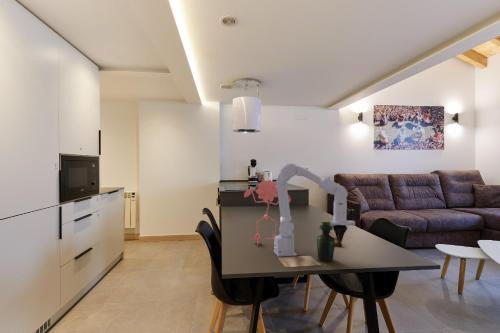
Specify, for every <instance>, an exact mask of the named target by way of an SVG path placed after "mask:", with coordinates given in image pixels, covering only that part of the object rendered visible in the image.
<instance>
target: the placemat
mask: <svg viewBox="0 0 500 333" xmlns="http://www.w3.org/2000/svg"><path fill="white" fill-rule="evenodd" d="M277 259H278V260H279V261H280V263H281V264H282V265H283V266H284V268H285V269H287V268H299V267H314V266H317V267H319V266H321V265H322V263H319V262H318V261H317V260H316V259H315V258H314V257H313V256H311V255H301V256H300V255H296V256H280V257H277Z"/></svg>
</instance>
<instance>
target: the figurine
mask: <svg viewBox="0 0 500 333" xmlns="http://www.w3.org/2000/svg"><path fill="white" fill-rule="evenodd" d="M257 188H258V189H256V190H255V193H256V194H257V195H258V196H257V197H258V199H260V200H261V201H256V198H255V194H254V191H253V188H252V187H251V188H249V189H247V190H246V191H245V192H244V193H243V195H244V198H247V197H249V196H250V195H251V194H252V197H253V200H254V203H266V205H267V209H266V213H265V214H264V215H263V217H262V218H261V219H259V220H257V223H258V222H261V220H268V219H270V220H271V221H272V222H274V223H275V225H277V224H278V223H277V222H276V221H275V220H274V219H272V218H270V216H269V215H268V211H269V208H270V204H271V205H275V206H277V205H279V200H278V201H277V202H276V203H274V202H273V201H274V198H278V192H277V184H276V181H272V180H271V179H268V180H265V179H262V180H261V182H260V183H258V184H257ZM288 200H289V203H291V201H292V198H291V196H290V195H289V194H288ZM258 229H259V228H258V226H256V231H257V232H256V234H255V235H254V236H253V238H252V239H250V240H253V241H254V242H255V243H257V244H256V245H257V246H259V240H260V239H261V233H259V230H258ZM274 229H275V230H274V233H273V234H272V236H271V238H270V237H267V239H270V240H271V239H272V240H273V241H274V238H275V236H278V235H279V234H276V231H277V226H274Z"/></svg>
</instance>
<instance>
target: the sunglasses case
mask: <svg viewBox="0 0 500 333" xmlns="http://www.w3.org/2000/svg"><path fill="white" fill-rule="evenodd" d="M329 235H330V236H332V237H333V238H334V239H335V246H334V248H336V247H338V248H341V247H342V246H343V244H342V242H338V241H337V238H336V235H334V234H333V233H332V232H331V231H330V233H329Z"/></svg>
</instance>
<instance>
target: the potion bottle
mask: <svg viewBox="0 0 500 333" xmlns="http://www.w3.org/2000/svg"><path fill="white" fill-rule="evenodd" d="M330 221H331V220H326V219H324V220H323V219H322V220H321V222H322V223H321V225H319V229H320V230H321V232H322V234H319V235H318V236H317V237H316V249H317V259H318V261H319V262H322V263H332V262H333V261H334V253H335V247H334V246H335V239H334V238H333V237H332V236H330V235H329V233H330V232H331V231H332V230H334V229H333V227H332V226H330Z"/></svg>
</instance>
